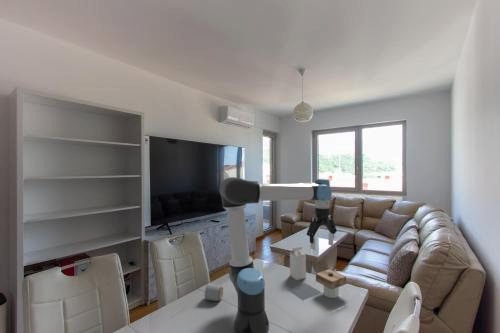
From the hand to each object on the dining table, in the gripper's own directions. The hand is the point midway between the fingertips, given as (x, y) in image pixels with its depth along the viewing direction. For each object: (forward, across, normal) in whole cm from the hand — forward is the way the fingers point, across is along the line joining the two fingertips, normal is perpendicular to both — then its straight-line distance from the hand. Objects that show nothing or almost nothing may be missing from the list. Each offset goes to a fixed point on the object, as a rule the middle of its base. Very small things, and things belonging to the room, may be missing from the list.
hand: (322, 247), depth 130 cm
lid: (+19, +4, -2) cm, 20 cm away
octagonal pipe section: (+26, +5, -2) cm, 26 cm away
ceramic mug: (+28, -50, +28) cm, 64 cm away
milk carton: (+26, +3, +23) cm, 35 cm away
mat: (+26, -6, +8) cm, 28 cm away
